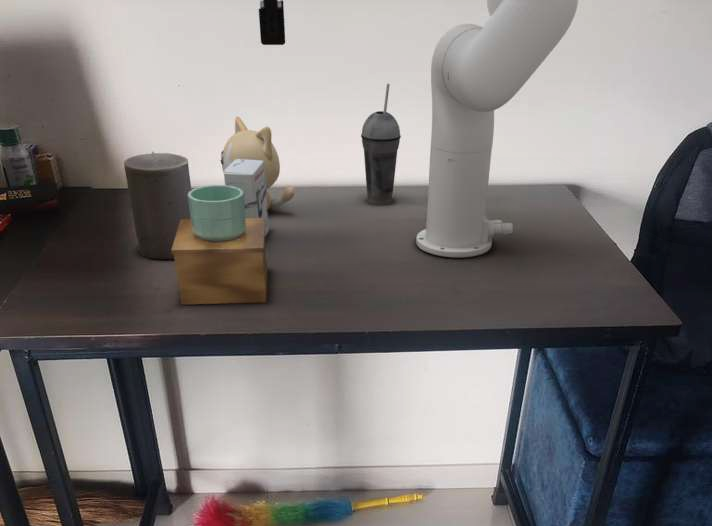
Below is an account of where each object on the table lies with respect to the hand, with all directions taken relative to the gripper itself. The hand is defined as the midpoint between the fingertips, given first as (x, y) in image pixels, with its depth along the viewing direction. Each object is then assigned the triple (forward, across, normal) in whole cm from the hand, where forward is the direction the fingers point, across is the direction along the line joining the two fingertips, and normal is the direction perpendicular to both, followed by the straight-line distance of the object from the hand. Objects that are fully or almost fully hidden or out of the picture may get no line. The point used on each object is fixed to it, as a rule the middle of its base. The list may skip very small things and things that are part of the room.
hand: (273, 39), depth 105 cm
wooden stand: (+30, -12, +9) cm, 34 cm away
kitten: (+31, +23, +6) cm, 39 cm away
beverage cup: (+31, +27, -18) cm, 45 cm away
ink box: (+31, +8, +6) cm, 32 cm away
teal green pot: (+22, -12, +9) cm, 27 cm away
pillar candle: (+31, +4, +19) cm, 36 cm away
